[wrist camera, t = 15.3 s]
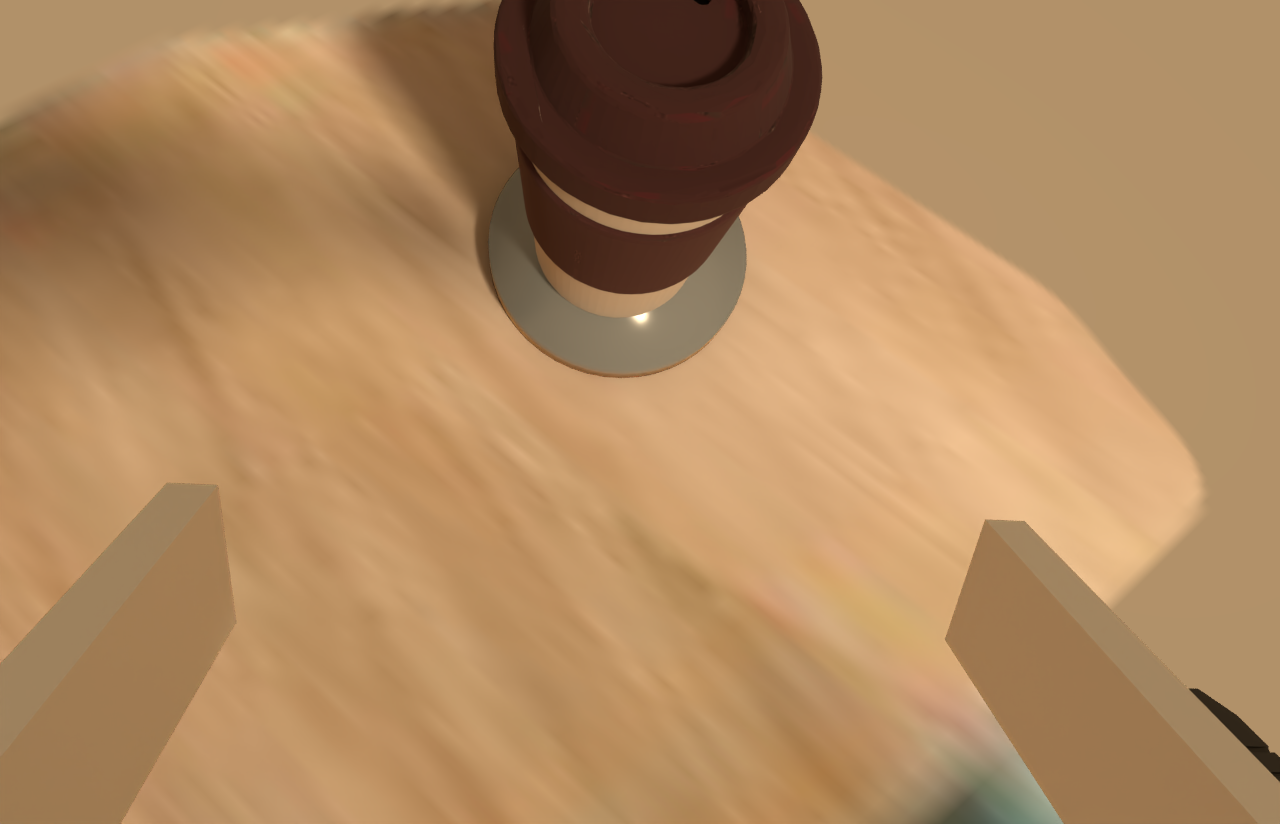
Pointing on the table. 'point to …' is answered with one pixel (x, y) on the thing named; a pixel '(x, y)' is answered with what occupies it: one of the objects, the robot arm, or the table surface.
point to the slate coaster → (598, 338)
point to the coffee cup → (648, 131)
